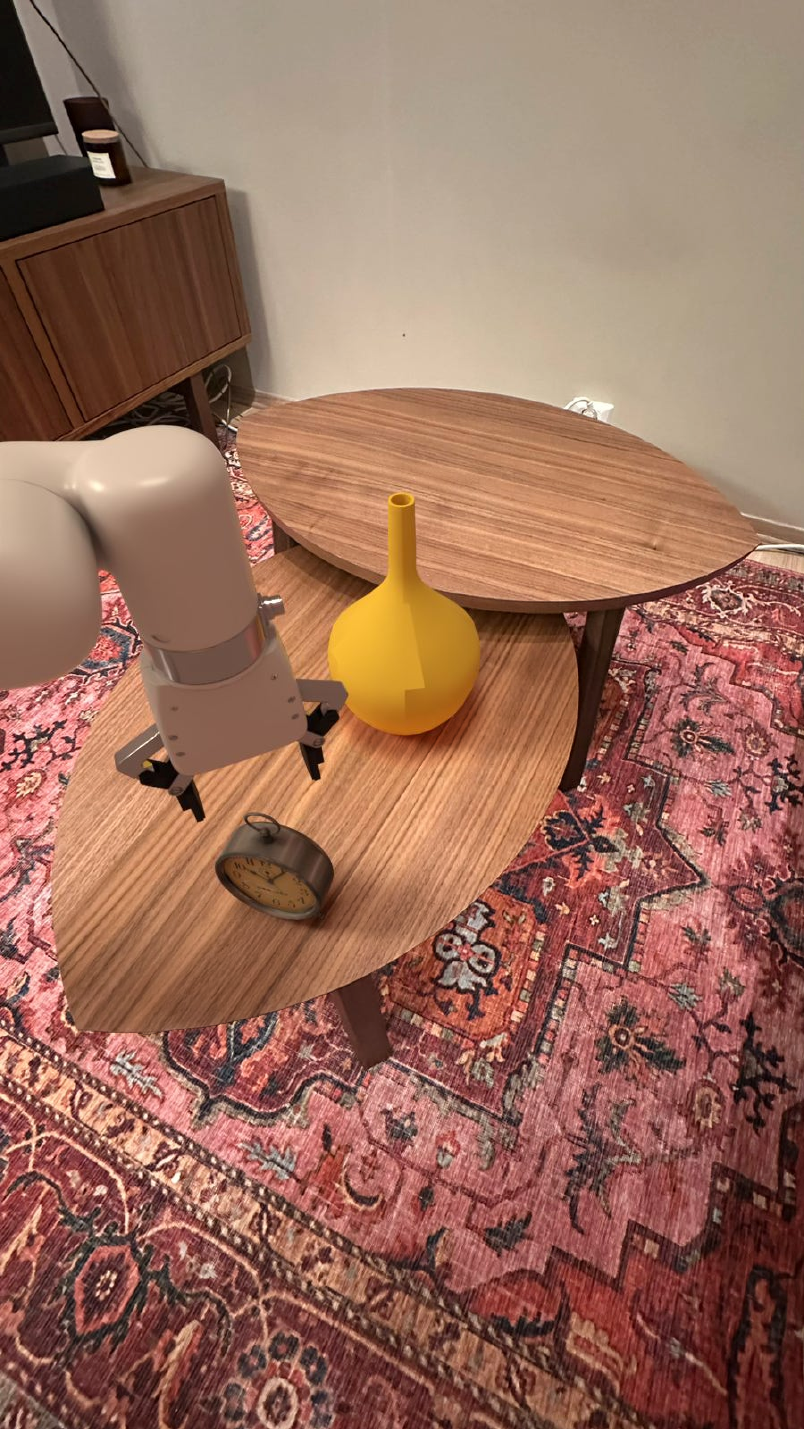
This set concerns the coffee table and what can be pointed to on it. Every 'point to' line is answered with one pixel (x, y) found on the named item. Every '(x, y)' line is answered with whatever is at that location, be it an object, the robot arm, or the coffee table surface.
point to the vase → (404, 643)
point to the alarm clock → (275, 870)
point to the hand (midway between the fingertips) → (256, 787)
